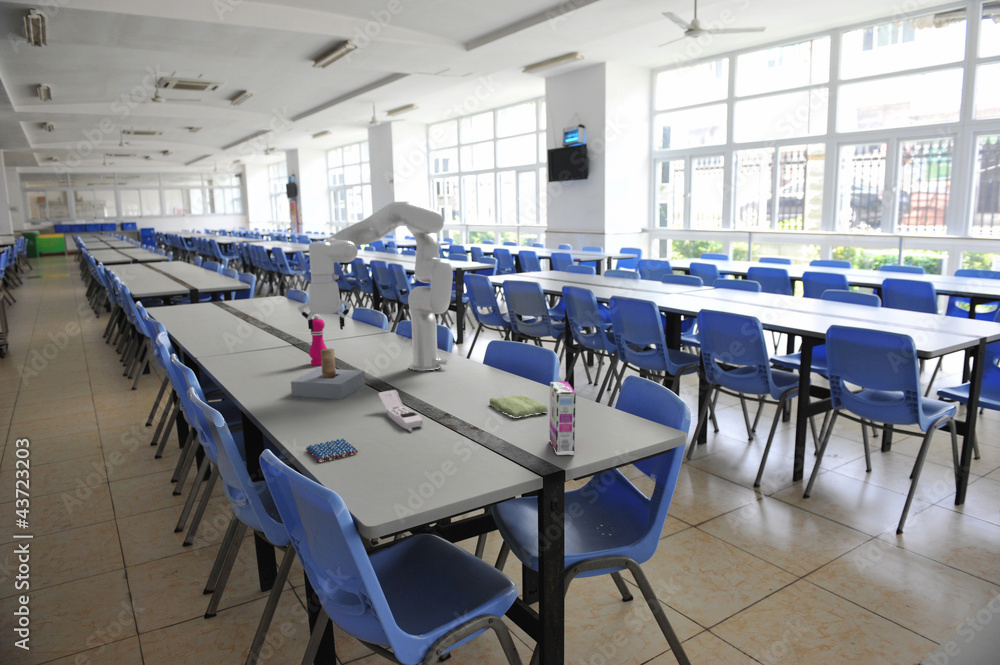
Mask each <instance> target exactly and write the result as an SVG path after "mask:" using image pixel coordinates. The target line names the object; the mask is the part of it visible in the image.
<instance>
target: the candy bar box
mask: <svg viewBox="0 0 1000 665" xmlns="http://www.w3.org/2000/svg"><path fill="white" fill-rule="evenodd" d="M549 384H550V387H549V388H550V390H549V438H550V440H551V442H552V445H553V447H554V448H555V450H556V452H560V451H561V452H562V451H574V452H575V438H576V436H575V435H576V434H575V431H576V430H575V429H576V399H577V398H576V396H577V395H576V394H577V393H576V391H575V389H573V387H572V386H571V384H570V383H569V381H550V383H549ZM552 445H551V446H552ZM553 447H552V448H553Z"/></svg>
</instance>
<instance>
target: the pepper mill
mask: <svg viewBox="0 0 1000 665" xmlns="http://www.w3.org/2000/svg"><path fill="white" fill-rule="evenodd" d="M312 322H313V332H311V331H310V335H311V338H312V341H311V345H310V348H309V352H308V353H309V354H308V355H309V357H310V358H311V360H310V365H311V366H315V367H319V366H321V367H322V362H321V350H323V349H328V347H327V346H326V344H325V341H324V334H325V332H324V329H325V321H324V320H323V319H321V318H319V314H314V315H313V318H312Z"/></svg>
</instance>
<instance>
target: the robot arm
mask: <svg viewBox="0 0 1000 665" xmlns="http://www.w3.org/2000/svg"><path fill="white" fill-rule="evenodd" d="M444 224H445V221H444V217H443V215H442V214H441V213H440V212H439V211H438V210H436V209H433V208H431V207H426V206H424V205H421V204H418V203H416V202H415V203H414V202H411V201H393V202H389V203H388V204H386V205H384V206H383V207H381V208H380V209H378V210H377V211H375V212H373V213H372V214H371V215H369V216H367V218H365V219H363V220H361V221H358V222H355V223H353V224H352V225H350V226H349V225H348V226H347V227H345V228H343V229H341V230H339V231H337V232H336V233H334V234H332V235H331V236H330V237H327V239H326V240H324V241H314V242H313V241H312V242H310V243H309V244H308V256H309V268H310V280H311V283H309V285H308V300H307V301H306V302H304V303H302V304H300V305H299V306H298V308H297V309H298V311H299V313H300V314H301V316H302V317H304V318H305V319H307V325H308V330H310V333H311V332H313V322H312V319H313V318H314V315H322V314H323V315H324V314H325V315H326V314H336V313H337V314H338V315H339V327H340V330H344V327H345V324H346V323H345V317H346V316H347V314H348V313H349V312H350V310H351V308H352V303H351V302H349V301H347V300H344V299H341V295H340V290H339V284H338V281H337V282H336V280H339V279H340V275H339V274H335V264H334V263H345V264H346V263H350V262H352V261H354V260H355V259H356V258H357V256H358V253H359V251H358V248H357V247H358V246H362V245H366V244H371V243H375V242H379V241H381V239H382V238H384V237H386V236H387V235H388V234H390V233H391V232H393V231H394V230H396V229H397V228H399V227H406V228H407V230H408V231H409V232H410V233H411V234H412V236H413V238H414V240H415V243H416V254H415V263H414V276H415V279H416V280H417V281H419V282H420V283H425V284H430V286H425V285H424V286H423V285H421V286H419V285H418V286H416V287H414V288H412V289H411V290H410V292H409V294H408V296H407V298H408V300H407V302H408V307H409V312H410V319H411V342H412V343H411V346H412V363H410V364H409V365H408V369H409V368H411V369H414V370H430V369H435V368H439V367H441V366H442V367H443V365H444V366H446V365H447V366H448V364H449V360H448V359H447V358H441V357H440V355H439V354H438V331H437V330H438V329H437V328H438V327H437V326H438V325H437V318H436V315H441V314H444V313H445V312H447V310H448V309H449V307H450V304H451V298H452V289H453V280H454V279H453V278H454V277H453V276H454V272H453V267H452V265H451V263H449V261H448V260H446V259H442V258H440V242H439V238H438V236H437V234H438V233H440V232H441V231H442V229H443V228H444ZM341 305H344V306H346V308H345V309H344V310H343V311H342V306H341ZM307 307H308V308H309V312H308V313H307V312H306V311H305V310H304V309H305V308H307ZM442 367H441V368H442ZM411 369H410V370H411ZM414 370H413V371H414Z"/></svg>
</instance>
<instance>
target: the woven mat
mask: <svg viewBox="0 0 1000 665" xmlns="http://www.w3.org/2000/svg"><path fill="white" fill-rule="evenodd" d="M305 450H306V452H307V453H308V452H309V453H308V454H310V455H312V454H313V455H312V456H311V457H312V458H314V459H315V460H316V461H317V462H318V461H323V460H327V461H328V459H330V460H331V461H332V460H333V458H337V457H339V458H343V457H344V458H345V457H349V456H351V455H353V456H354V455H355V454H356V455H357V453H359V451H358V449H356V447H354V446H353V445H351V444H350V443H349V442H348V441H346V439H345V440H344V438H341V439H336V440H330V441H325V442H319V443H318V444H317V443H316V444H310V445H308V446H307V447H305ZM353 453H354V454H353ZM344 454H345V455H344ZM349 454H350V455H349ZM330 460H329V461H330ZM323 462H324V461H323Z"/></svg>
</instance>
